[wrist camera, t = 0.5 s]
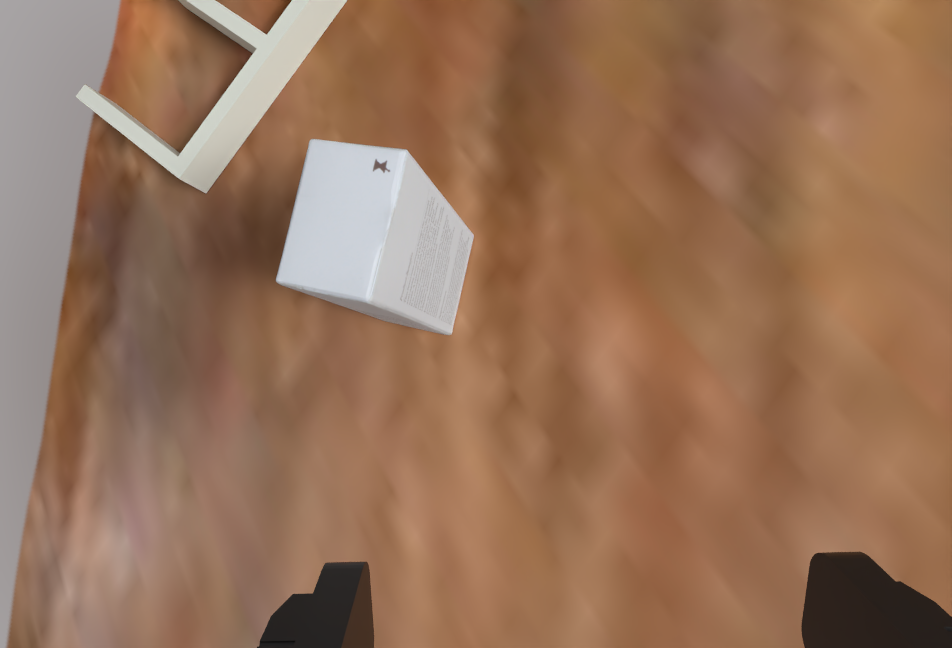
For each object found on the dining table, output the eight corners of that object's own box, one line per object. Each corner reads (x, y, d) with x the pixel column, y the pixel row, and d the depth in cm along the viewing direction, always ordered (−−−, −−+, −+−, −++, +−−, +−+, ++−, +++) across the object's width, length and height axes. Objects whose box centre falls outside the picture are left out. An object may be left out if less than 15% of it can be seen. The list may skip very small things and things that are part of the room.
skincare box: (406, 223, 34) (308, 131, 23) (476, 235, 33) (411, 145, 22) (382, 324, 34) (269, 282, 22) (452, 339, 33) (373, 304, 21)
